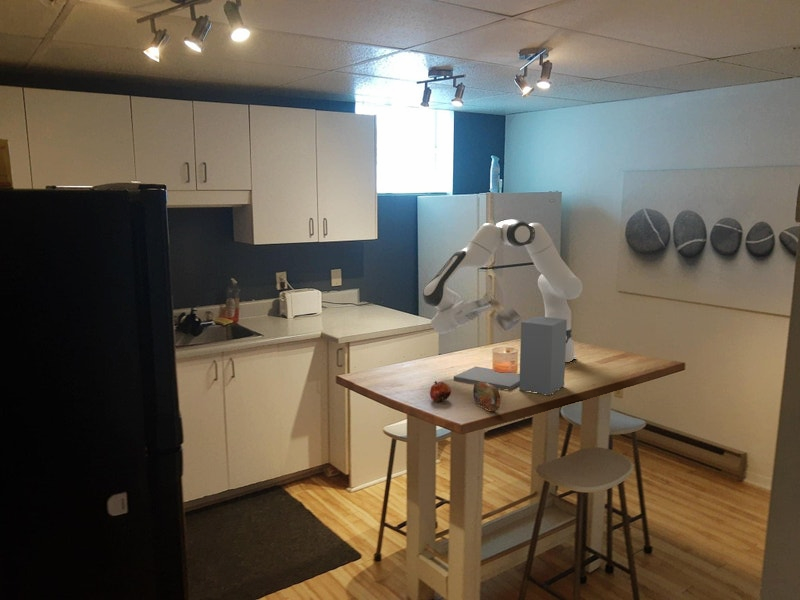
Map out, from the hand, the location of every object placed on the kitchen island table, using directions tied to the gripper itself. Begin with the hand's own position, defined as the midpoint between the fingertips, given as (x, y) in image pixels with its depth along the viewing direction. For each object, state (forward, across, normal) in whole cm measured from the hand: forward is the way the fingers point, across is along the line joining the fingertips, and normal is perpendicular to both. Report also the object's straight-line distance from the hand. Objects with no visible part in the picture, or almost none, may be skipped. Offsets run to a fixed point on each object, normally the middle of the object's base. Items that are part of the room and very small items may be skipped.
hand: (492, 297), depth 242 cm
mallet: (-2, 0, +6) cm, 6 cm away
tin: (-4, -31, +36) cm, 48 cm away
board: (-16, 0, +29) cm, 33 cm away
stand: (+2, 0, +39) cm, 39 cm away
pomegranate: (-18, -35, +28) cm, 48 cm away
